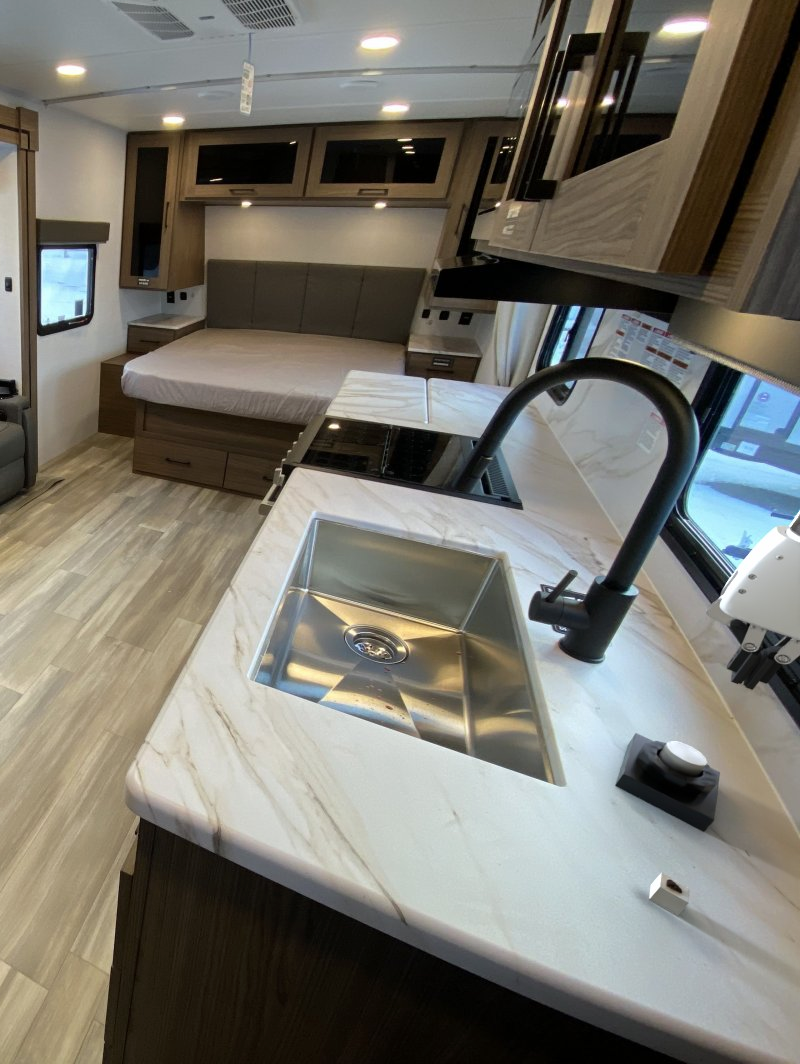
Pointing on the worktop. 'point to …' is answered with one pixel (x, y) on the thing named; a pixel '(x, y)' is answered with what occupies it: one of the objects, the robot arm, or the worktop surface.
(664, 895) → the cube with dark pebbles
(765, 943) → the worktop surface
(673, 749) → the knob
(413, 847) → the worktop surface
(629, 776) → the block
